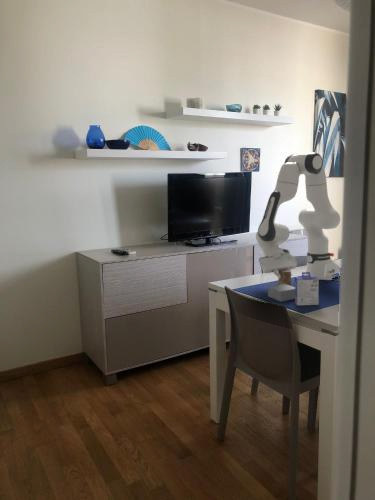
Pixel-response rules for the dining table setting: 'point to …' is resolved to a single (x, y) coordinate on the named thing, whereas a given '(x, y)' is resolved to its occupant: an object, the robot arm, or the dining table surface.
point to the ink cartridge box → (306, 290)
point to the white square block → (281, 292)
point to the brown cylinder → (285, 277)
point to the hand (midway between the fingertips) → (285, 277)
